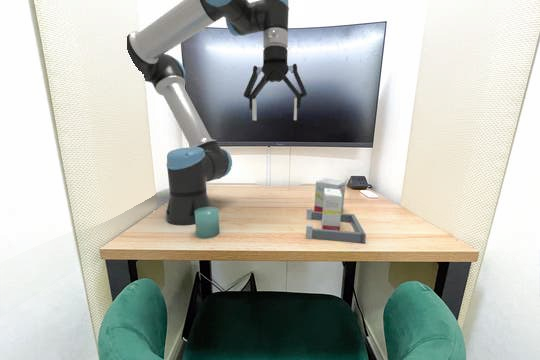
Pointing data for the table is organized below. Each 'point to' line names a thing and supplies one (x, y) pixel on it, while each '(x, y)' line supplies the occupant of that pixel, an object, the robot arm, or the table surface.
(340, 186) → the ink box
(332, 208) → the ink box
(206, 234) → the teal rounded cylinder
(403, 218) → the table surface
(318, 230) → the u-shaped handle bar
